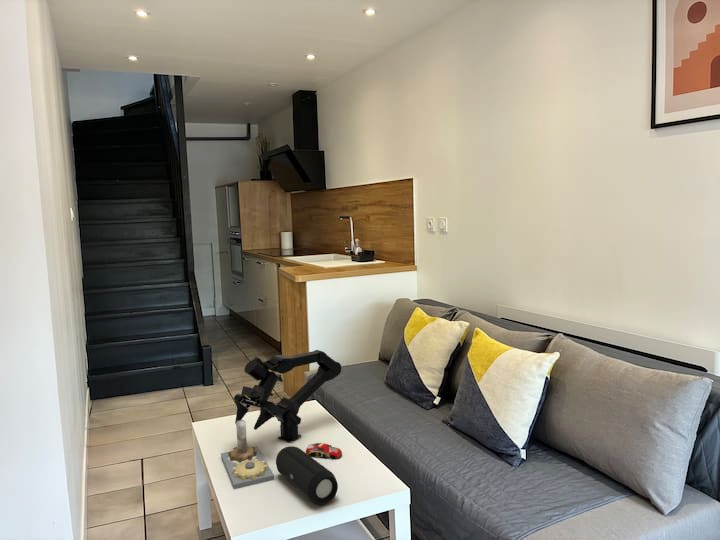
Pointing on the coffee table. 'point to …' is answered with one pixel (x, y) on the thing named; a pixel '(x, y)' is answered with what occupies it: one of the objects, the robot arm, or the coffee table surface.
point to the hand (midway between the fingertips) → (245, 426)
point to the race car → (323, 451)
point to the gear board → (248, 481)
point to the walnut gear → (242, 445)
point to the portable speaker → (307, 474)
